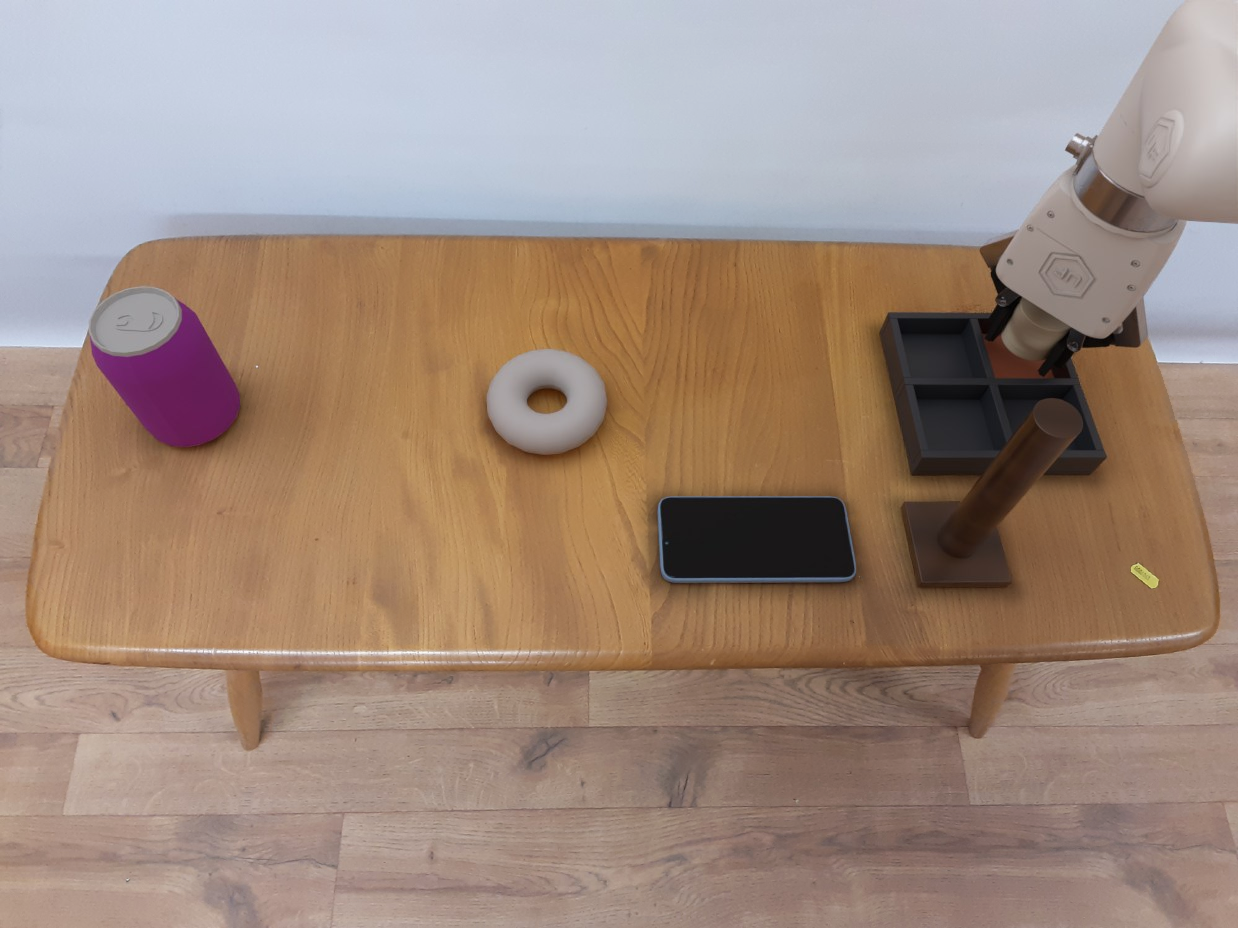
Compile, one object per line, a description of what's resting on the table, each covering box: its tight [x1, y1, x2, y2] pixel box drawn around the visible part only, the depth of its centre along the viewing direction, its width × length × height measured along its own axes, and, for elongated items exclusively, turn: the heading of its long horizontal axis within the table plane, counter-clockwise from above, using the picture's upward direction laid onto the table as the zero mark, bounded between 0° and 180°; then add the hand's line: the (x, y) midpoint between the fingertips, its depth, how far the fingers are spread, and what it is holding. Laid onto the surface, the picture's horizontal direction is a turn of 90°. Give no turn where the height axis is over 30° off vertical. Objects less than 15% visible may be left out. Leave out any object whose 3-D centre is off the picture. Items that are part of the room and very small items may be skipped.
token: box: [1001, 297, 1071, 361], centre depth 74 cm, size 5×5×4 cm
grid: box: [878, 311, 1108, 476], centre depth 76 cm, size 15×15×3 cm
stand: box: [900, 398, 1083, 589], centre depth 62 cm, size 7×7×18 cm
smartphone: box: [657, 495, 857, 584], centre depth 69 cm, size 7×1×15 cm
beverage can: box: [87, 285, 241, 448], centre depth 68 cm, size 8×8×12 cm
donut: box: [485, 348, 608, 456], centre depth 73 cm, size 10×4×10 cm
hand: (1022, 347), depth 77 cm, fingers closed on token, 4 cm apart
